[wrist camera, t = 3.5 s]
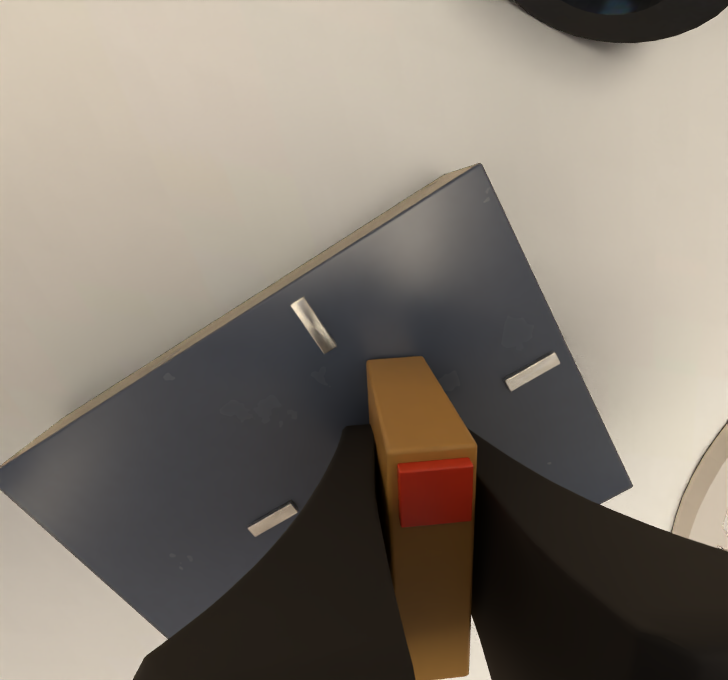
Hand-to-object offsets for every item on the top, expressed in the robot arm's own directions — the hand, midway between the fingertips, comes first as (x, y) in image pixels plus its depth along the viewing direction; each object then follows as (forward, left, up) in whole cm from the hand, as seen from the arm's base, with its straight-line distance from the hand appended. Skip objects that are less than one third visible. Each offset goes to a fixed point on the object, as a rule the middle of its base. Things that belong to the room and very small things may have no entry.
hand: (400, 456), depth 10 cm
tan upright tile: (0, 0, 0) cm, 0 cm away
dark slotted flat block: (-2, 0, -3) cm, 4 cm away
